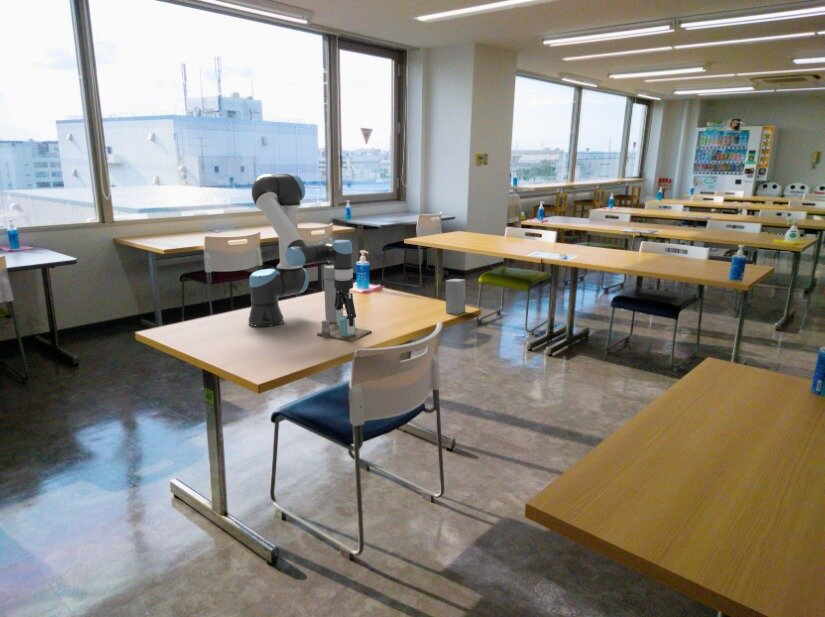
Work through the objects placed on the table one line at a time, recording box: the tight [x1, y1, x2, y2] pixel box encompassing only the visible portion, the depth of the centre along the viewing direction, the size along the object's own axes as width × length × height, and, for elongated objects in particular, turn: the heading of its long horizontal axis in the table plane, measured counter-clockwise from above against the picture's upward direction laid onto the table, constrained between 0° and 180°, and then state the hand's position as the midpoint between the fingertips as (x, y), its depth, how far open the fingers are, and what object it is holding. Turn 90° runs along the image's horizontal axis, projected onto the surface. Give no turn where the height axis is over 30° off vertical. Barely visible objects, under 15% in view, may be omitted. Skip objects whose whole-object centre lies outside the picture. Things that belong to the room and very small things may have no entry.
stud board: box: [316, 319, 373, 343], centre depth 232 cm, size 18×15×6 cm
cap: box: [339, 315, 356, 336], centre depth 230 cm, size 6×6×7 cm
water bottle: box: [323, 264, 346, 324], centre depth 249 cm, size 9×8×25 cm
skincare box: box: [445, 278, 466, 316], centre depth 264 cm, size 8×7×16 cm
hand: (345, 329), depth 230 cm, fingers open, 13 cm apart
